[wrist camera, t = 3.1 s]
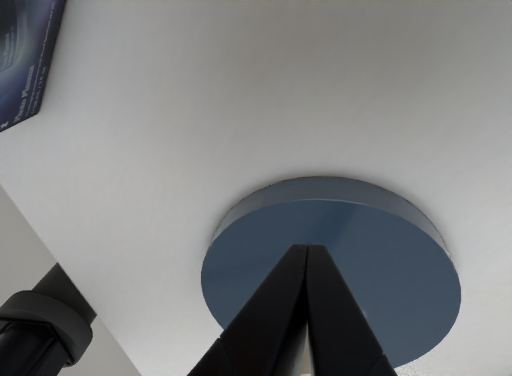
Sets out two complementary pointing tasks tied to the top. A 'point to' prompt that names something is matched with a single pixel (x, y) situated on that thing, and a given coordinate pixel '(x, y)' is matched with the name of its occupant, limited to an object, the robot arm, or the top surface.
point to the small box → (25, 55)
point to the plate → (342, 257)
